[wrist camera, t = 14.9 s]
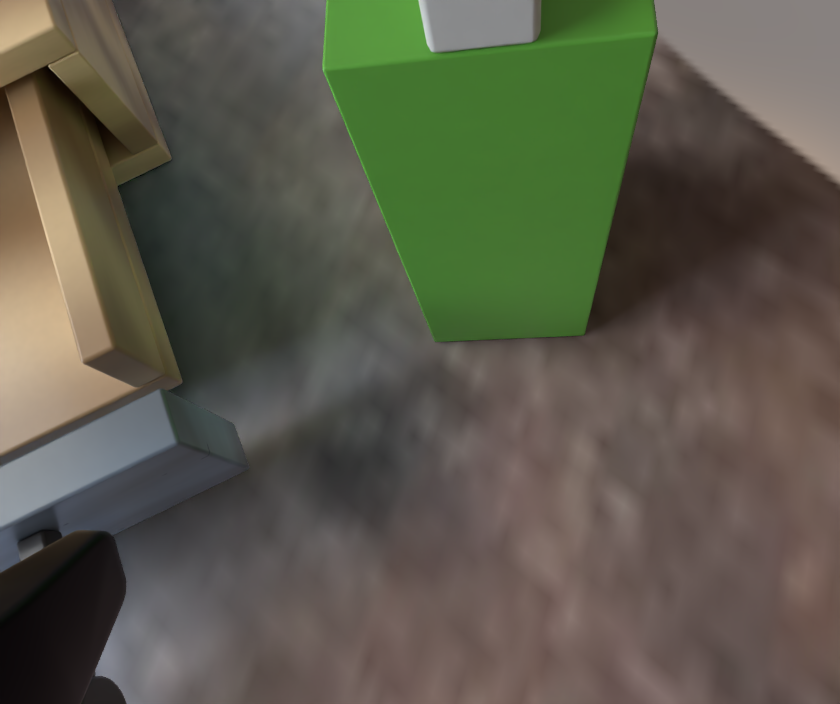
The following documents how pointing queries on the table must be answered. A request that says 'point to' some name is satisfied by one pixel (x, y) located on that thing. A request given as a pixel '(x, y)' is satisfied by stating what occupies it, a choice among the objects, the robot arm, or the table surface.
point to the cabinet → (87, 73)
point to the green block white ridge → (494, 147)
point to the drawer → (84, 347)
